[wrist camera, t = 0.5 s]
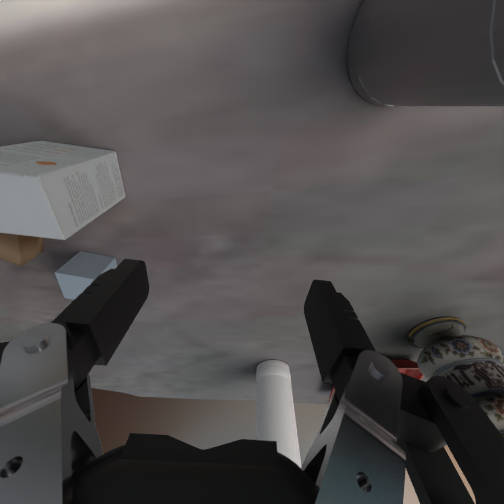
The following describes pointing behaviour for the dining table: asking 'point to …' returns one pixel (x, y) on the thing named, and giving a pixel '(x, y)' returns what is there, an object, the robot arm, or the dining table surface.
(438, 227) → the dining table surface
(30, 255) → the walnut slab
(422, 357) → the apothecary jar
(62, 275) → the blue-grey cube
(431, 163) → the dining table surface
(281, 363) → the bottle
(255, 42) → the dining table surface
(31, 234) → the small box
